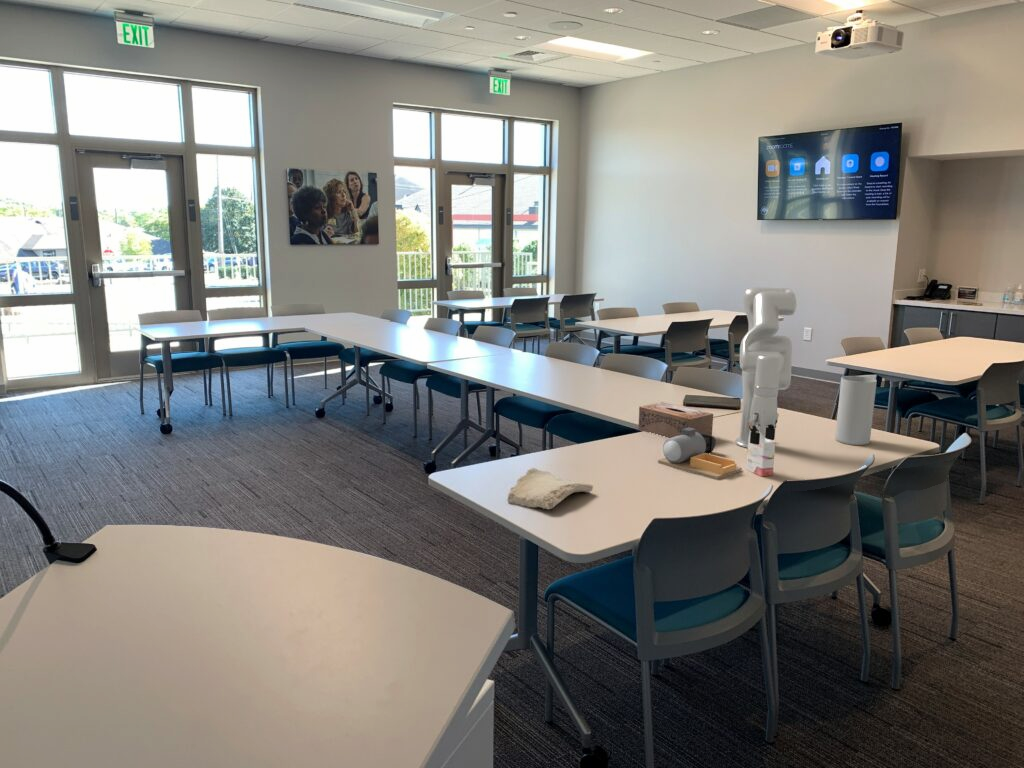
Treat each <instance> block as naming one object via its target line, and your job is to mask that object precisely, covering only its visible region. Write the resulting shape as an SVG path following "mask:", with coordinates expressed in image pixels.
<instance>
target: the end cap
mask: <svg viewBox="0 0 1024 768" xmlns="http://www.w3.org/2000/svg"><path fill="white" fill-rule="evenodd" d="M701 435H702V436H703V437H704V439H705V442H706V450H705V452H704V453H708V454H709V453H710V454H711V453H712V452H713V451H715V450H714V449H715V447H716V443H717V441H716V437H714V436H713V435H712V436H709V435H704V434H701Z"/></svg>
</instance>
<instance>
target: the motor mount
mask: <svg viewBox="0 0 1024 768" xmlns="http://www.w3.org/2000/svg"><path fill="white" fill-rule="evenodd" d="M705 450H706V442H705V439H704V437H703V436H702V435H701V434H700V433H698V432H696V429H694V428H689V427H688V428H685V429H682V435H679V436H676V437H672V438H667V439H665V441H664V443H663V445H662V451H663V455H664V458H660V459H657V463H658V464H661V465H664V466H667V465H668V467H672V468H674V467H675V469H678V468H679V469H678V470H681V469H682V470H681V471H686V472H688V471H689V472H688V473H692V472H693V473H692V474H695V473H696V475H699V474H700V475H699V476H702V475H703V476H702V477H706V476H707V477H706V478H709V477H710V478H709V479H713V478H714V479H713V480H716V479H718V480H720V479H723V478H725V476H726V477H728V476H731V475H734V474H736V473H739V472H742V471H743V469H742V467H741V466H738V465H737V463H735V461H736V460H733V459H730V458H726V457H723V456H719V455H715V454H711V453H710V454H708V453H704V452H705ZM741 470H742V471H741ZM738 471H739V472H738ZM733 473H734V474H733ZM730 474H731V475H730ZM722 477H723V478H722ZM719 478H720V479H719Z"/></svg>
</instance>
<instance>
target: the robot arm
mask: <svg viewBox="0 0 1024 768" xmlns="http://www.w3.org/2000/svg"><path fill="white" fill-rule="evenodd" d="M743 307H744V312H745V314H746V318H747V322H748V329H747V330H748V331H747V333H746V334H745V335H744V336H743V338H742V339H741V342H740V346H739V366H740V369H741V380H742V400H741V401H742V402H741V414H740V415H741V416H740V431H739V437H738V438H736V439H735V441H734V443H735V445H737V446H739V447H742V448H746V449H748V441H749V434H750V443H752V444H756V445H758V444H759V441H760V433H759V432H761V433H764V434H765V438H766V439H769V440H771V441H774V440H775V438H776V437H775V436H776V429H777V423H778V418H779V416H780V415H779V413H778V394H779V390H780V391H781V390H782V391H784V390H787V389H789V387H790V386H791V381H792V380H791V379H792V362H793V360H792V359H793V344H792V341H791V339H790V337H788V336H786V335H776V334H777V333H778V331H779V327H780V326H779V323H780V322H779V321H780V320H779V316H793V315H794V314H795V312H796V310H797V297H796V294H795V292H794V291H793V290H792V289H791V288H784V287H765V286H764V287H759V286H758V287H750V288H748V289H746V290H745V291H744V294H743ZM750 432H751V433H750Z"/></svg>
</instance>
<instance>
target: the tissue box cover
mask: <svg viewBox="0 0 1024 768" xmlns="http://www.w3.org/2000/svg"><path fill="white" fill-rule="evenodd" d="M713 425H714V413H712V412H707V411H702V410H699V409H696V408H695V409H694V408H691V407H686V406H683V405H682V406H680V405H677V404H672V403H668V402H664V401H661V402H655V403H652V404H651V403H650V404H646V405H642V406H641V405H640V406H639V409H638V428H637V430H638V431H642V432H645V433H649V432H651V433H650V434H652V433H655V434H654V435H656V434H658V435H657V436H659V435H661V437H663V436H665V437H664V438H667V437H668V438H667V439H669V438H672V437H676V436H679V435H682V429H685V428H688V427H689V428H694V429H696V432H698V433H700V434H704V435H709V436H713Z"/></svg>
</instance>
